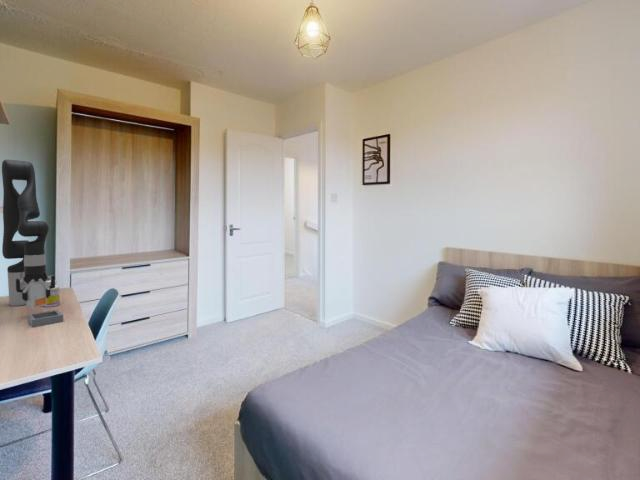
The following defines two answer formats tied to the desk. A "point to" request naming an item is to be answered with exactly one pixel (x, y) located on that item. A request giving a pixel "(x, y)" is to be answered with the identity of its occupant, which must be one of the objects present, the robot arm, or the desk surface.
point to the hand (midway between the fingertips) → (36, 298)
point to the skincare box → (36, 295)
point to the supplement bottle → (53, 295)
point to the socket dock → (45, 318)
